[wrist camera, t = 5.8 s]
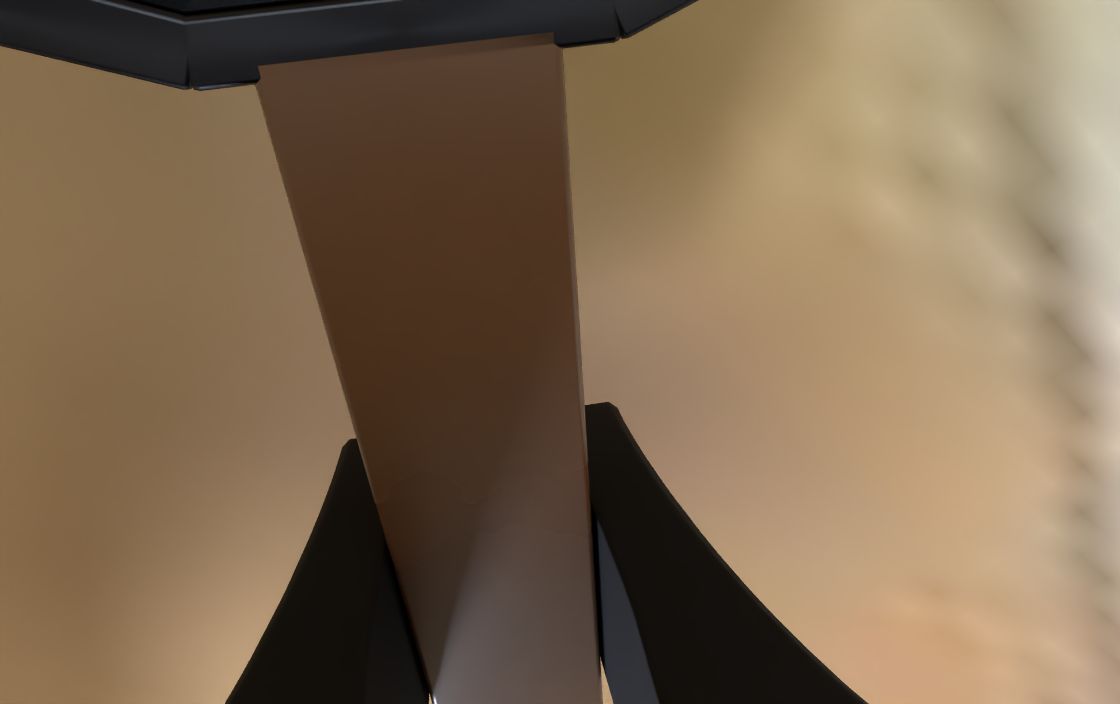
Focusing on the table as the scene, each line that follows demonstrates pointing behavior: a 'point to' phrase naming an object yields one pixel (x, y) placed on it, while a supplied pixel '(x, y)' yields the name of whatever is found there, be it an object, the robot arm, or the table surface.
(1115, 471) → the table surface
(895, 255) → the table surface
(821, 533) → the table surface
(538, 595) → the pan
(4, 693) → the table surface
